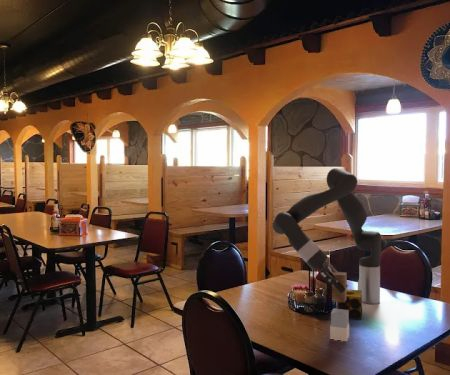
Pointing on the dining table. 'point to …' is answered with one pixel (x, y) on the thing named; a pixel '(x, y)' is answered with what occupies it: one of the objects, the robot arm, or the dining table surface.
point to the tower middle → (339, 318)
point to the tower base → (339, 333)
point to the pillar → (343, 281)
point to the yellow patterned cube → (352, 304)
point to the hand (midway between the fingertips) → (344, 289)
